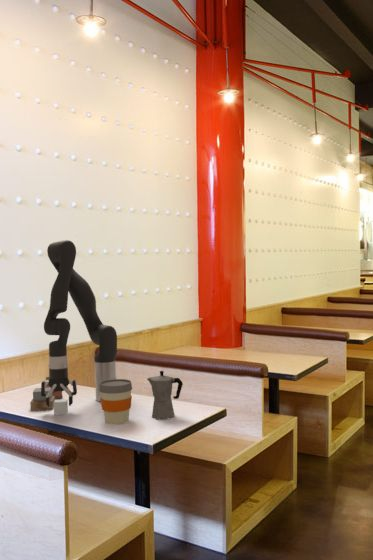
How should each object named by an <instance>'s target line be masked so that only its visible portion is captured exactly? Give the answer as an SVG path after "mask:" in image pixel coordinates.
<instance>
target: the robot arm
mask: <svg viewBox="0 0 373 560" xmlns="http://www.w3.org/2000/svg"><path fill="white" fill-rule="evenodd" d="M46 250H47V251H46V252H47V253H46V254H47V257H48V259H49V261H50V263H51V265H52V266H53V267H54V269H55V270H56V271H57V276H56V278H55V281H54V283H53V285H52V287H51V290H50V291H51V292H50V298H49V299H50V300H49V308H48V311H47V313H46V314H47V315H46V316H45V320H44V322H43V323H44V324H43V330H44V333H45V334H46V335H47V336H58V339H57V340H53V341H50V342H49V343H48V352H49V353H48V377H49V380H42V381H41V383H40V384H41V387H40V388H41V396H44V397H46V405H48V407H50V397H49V395H50V394H51V393H52V391H55V392H57V391H62V392H65V393H66V395H68V407H70V406H72V405H73V401H74V397H73V396H75V395H77V393H78V388H77V380H76V379H75V378H74V379H72V380H69V372H68V371H69V367H68V366H69V365H68V361H69V360H68V355H67V354H68V353H67V345H68V340H69V335H70V331H71V323H70V321H69V319H67V318H66V317H58V316H59V315H60V314H63V313H65V312H67V310H68V302H69V300H68V299H69V295H70V298H71V300H72V301H73V303H74V306H75V308H76V309H77V311H78V313H79V315H80V317H81V318H82V321H83V323H84V325H85V327H86V330H87V332H88V333H87V334H88V335H89V338H90V340H91V342H92V343H93V344H94V345H97V346H98V353H96V354H95V355H94V357H93V359H94V360H93V361H94V379H95V380H94V381H95V400H96V401H97V402H101V399H100V398H101V393H100V391H99V389H100V383H101V382H103V381H106V380H113V379H117V369H116V366H117V365H116V356H117V352H118V336H117V334H118V333H117V331H116V329H115V327H113V326H112V325H106V324H104V323H103V322H102V320H101V318H100V317H99V315H98V312H97V300H96V296H95V294H94V292H93V290H92V288H91V286H90V284H89V283H88V282H87V281H86V279H84V277H82V276H81V275H80V274H79V273H78V272H77V271H76V270H75V269H74V266H75V261H76V256H77V247H76V245H75V244H74V242H73V241H71V240H68V239H65V240H60V241H54V242H51V243H50V244H49V245H48V246H47V249H46ZM48 381H49V382H48ZM47 384H48V385H49V386H50V387H51V389H50V390H49V392H48V393H45V387H46V386H47ZM69 385H71V387H72V391H71V389H70V388H69V387H68V386H69Z"/></svg>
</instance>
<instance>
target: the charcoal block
mask: <svg viewBox="0 0 373 560" xmlns="http://www.w3.org/2000/svg"><path fill="white" fill-rule="evenodd" d="M50 389H51V387H48V388H45V393H48V392H49V390H50ZM49 397H50V400H51V398H52V393H51V394H50V395H49ZM32 399H33V401H46V397H44V396H41V387H36V388H34V390H33V391H32Z"/></svg>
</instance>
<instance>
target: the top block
mask: <svg viewBox="0 0 373 560" xmlns="http://www.w3.org/2000/svg"><path fill="white" fill-rule="evenodd" d="M68 408H69V401H68V399H67V398H66V399H63V398H62V399H55V401H54V407H53V415H54V416H56V415H57V416H59V415H67V414H68V412H69V409H68Z"/></svg>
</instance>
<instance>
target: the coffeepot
mask: <svg viewBox="0 0 373 560" xmlns="http://www.w3.org/2000/svg"><path fill="white" fill-rule="evenodd" d="M146 380H147V381H148V382H149V384H150V386H151V391H152V396H153V405H152V412H151V418H153V419H154V418H155V420H168V418H170V419H172V418H174V417H175V411H174V410H175V409H174V405H173V400H172V393H173V391H172V390H173V385H174V384H176V383H177V384H178V385H177V389H176V392H175V396H174V395H173V399H174V400H177V399H179V398H180V396H181V392H182V388H183V385H184V384H183V381H182V380H181V379H180V377H173V376H170V375H169V376H168V375H164V370H159V375H156V376H151V377H147V378H146Z"/></svg>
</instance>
